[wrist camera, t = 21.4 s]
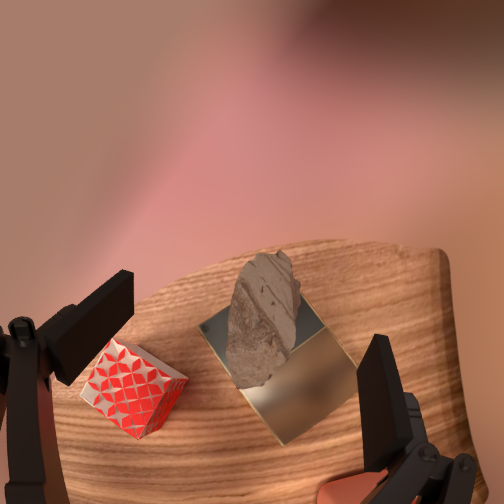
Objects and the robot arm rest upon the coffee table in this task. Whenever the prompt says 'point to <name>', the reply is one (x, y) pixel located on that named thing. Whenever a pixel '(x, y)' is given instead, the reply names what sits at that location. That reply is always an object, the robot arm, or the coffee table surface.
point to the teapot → (350, 489)
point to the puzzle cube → (133, 388)
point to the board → (295, 375)
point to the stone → (262, 319)
